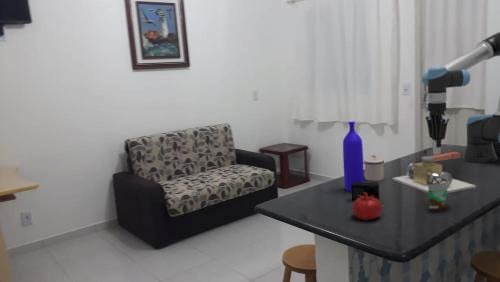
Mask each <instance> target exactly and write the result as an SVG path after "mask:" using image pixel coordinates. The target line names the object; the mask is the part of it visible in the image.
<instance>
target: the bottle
mask: <svg viewBox="0 0 500 282" xmlns="http://www.w3.org/2000/svg"><path fill="white" fill-rule="evenodd" d="M347 123H348V125H349V126H348V127H349V131H348V132H347V134H345V136H344V137H343V139H342V140H343V141H342V157H343V158H342V159H343V160H342V163H343V180H344V189H345V190H346V192H349V193H351V184H352V182H365V173H364V170H365V168H364V164H363V162H364V152H363V151H364V149H363V140H362V138H361V136H360V135H359V134H358V133H357V132H356V131H355V123H356V121H353V120H352V121H348V122H347Z"/></svg>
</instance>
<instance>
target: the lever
mask: <svg viewBox="0 0 500 282" xmlns="http://www.w3.org/2000/svg"><path fill="white" fill-rule="evenodd" d="M460 158H461V152H457V151H450V152H449V151H448V152H446V153H443V154H433V155H429V156H428V155H425V156H421V159H420V160H421V162H423V163H432V162H433V163H435V162H438V161H439V162H440V161H445V160H454V159H456V160H457V159H460Z"/></svg>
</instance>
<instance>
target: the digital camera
mask: <svg viewBox="0 0 500 282" xmlns="http://www.w3.org/2000/svg"><path fill="white" fill-rule="evenodd" d="M364 192H366V193H367V197H370V196H372V197H374V198H376V199H378V200H379V201H380V182H367V181H366V182H365V181H364V182H352V184H351V192H350V193H351V202H355V200H356V199H358V198H359V197H360V196H359V195H361V196H363V197H364Z"/></svg>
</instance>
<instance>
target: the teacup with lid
mask: <svg viewBox="0 0 500 282" xmlns="http://www.w3.org/2000/svg"><path fill="white" fill-rule="evenodd" d="M384 162H385V160H384V158H382V157H379V156H377V155H376V154H371V156H369V157H368V158H365V159H363V165H364V180H366V181H370V182H381V181H383V180H384V179H385V163H384Z"/></svg>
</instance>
